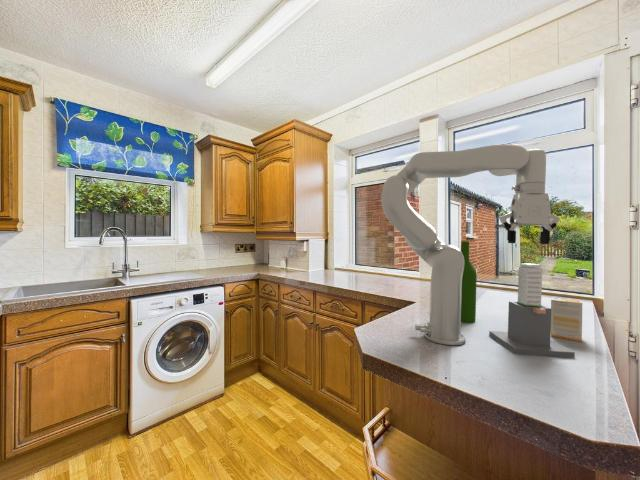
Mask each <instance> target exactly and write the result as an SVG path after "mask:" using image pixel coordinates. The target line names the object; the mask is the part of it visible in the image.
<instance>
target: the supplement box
mask: <svg viewBox="0 0 640 480" xmlns="http://www.w3.org/2000/svg"><path fill="white" fill-rule="evenodd" d="M550 308H551V337H554V338H561V339H566V340H570V341H575V342H576V341H577V342H582V339H583V302H582V300H576V299H568V298H559V297H551V299H550Z"/></svg>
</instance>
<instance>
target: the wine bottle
mask: <svg viewBox="0 0 640 480" xmlns="http://www.w3.org/2000/svg"><path fill="white" fill-rule="evenodd" d="M460 244H461V245H460V251H461V252H462V254H463V256H464V270H463V276H462V289H461V323H464V324H473V323H476V316H477V315H476V314H477V282H478V281H477V279H478V278H477V270H476V269H475V267H474V265H473V264H472V262H471V260H470V241H468V240H467V241H465V240H461V243H460Z"/></svg>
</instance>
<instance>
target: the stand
mask: <svg viewBox="0 0 640 480" xmlns="http://www.w3.org/2000/svg"><path fill="white" fill-rule="evenodd" d="M517 302H518V301H511V300H510V301H508V312H507V313H508V314H507V315H508V317H507V320H508V321H507V331H499V330H489V331H488V332H489V333H488V334H489V336H490V337H491V338H492V339H494V340H495V341H496V342H498V343H500V344H501V345H502V346H504V347H505V348H506V349H508V350H509V351H510V352H512V353H513V354H514V355H524V356H525V355H527V356H542V357H558V358H559V357H561V358H575V357H576V356H575V355H576V354H575V353H576V352H575V351H573V350H572V349H569V348H568V347H565V346H563V345H562V344H560V343H558V342H555V341H554V340H552V339H551V338H552V336H551V307H548V306H546V305H542V304H541V306H542V307H524V306H522V305H519V304H517Z"/></svg>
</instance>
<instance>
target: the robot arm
mask: <svg viewBox="0 0 640 480" xmlns="http://www.w3.org/2000/svg"><path fill="white" fill-rule="evenodd" d="M486 171H488V172H489V173H490V174H491V175H493V176H495V177H506V176H514V175H516V177H515V178H516V179H515V181H516V182H515V185H513V186H511V191H514V193H515V194H513V196H512V199H511V204H510V210H509V212H508V213H504V214H503V215H500V216H499V217H498V220H499V221H500V224H501V226H502V227H503V228H504V229H505V231H507V235H506V236H507V237H506V239H507V243H508V244H516V242H517V241H516V240H517V232H516V230H515V229H516V228H517V227H518V226H538V227H539V228H540V229H541V230H542V231H540V236H539V237H540V238H539V239H540V240H539V244H541V245H549V244H550V240H551V232H553V229H555V228H556V227H557V225H558V223H559V222H560V220H561V218H560V217H559V216H557V215H555V214H554V213H553V214H552V213H551V212H552V211H551V201H550V197H549V194H548V193H546V179H547V178H546V174H547V152H546V151H545V150H543V149H539V148H538V149H537V148H534V149H527V148H526V147H525V146H523V145H520V144H515V143H513V144H511V143H510V144H495V145H493V144H492V145H485V146H480V147H475V148H473V147H472V148H467V149H463V150H447V151H446V150H445V151H427V152H426V151H424V152H422V151H421V152H417V153H416V154H414V155H413V156H411V158H410V159H409V161H408V162H407V163H406V165H405V166H404V167H403V168H402V169H401V170H400V171H399V172H398V173H397V174H395V175H392V176H390V177H388V178H387V179H386V180H385V182H384V183H383V187H382V189H381V196H380V201H381V208H382V211H383V213H384V216H385V217H386V219H387V220H388V221H389V222H390V223H391V224H392V226H393V227H394V228H395V229H396V230H397V231H398V232H399V233H400V234H401V235H402V236H403V237H404V239H405V243H406V244H407V245H408V246H409V248H411V250H413V251H414V252H415V254H417V255H418V256H419V257H420V259H422V260H423V261H424V262H425V263H426V265H427V264H428V265H429V266H430V267H431V268H432V269H431V274H430V275H431V276H430V287H429V288H430V291H429V292H430V294H429V295H430V297H429V300H430V303H429V321H426V323H425V324H423V325H422V324H415V325H414V330H415V331H420V333H424V337H425V338H426V339H428V341H430V342H434V343H436V344H441V345H445V346H448V345H449V346H460V345H464V344H465V343H466V341H467V340H466V336H464V335H463V334H461V323H462V322H461V289H462V276H463V270H464V256H463V254H462V252H461V249H460V248H458V247H457V246H455V245H453V244H446V243H445V242H443V241H442V240H441V239H440V238H439V237H438V234H437V231H436V229H435V228H434V227H433V226H432V225H431V224H430V223H429V222H427V221H426V220H425V219H424V218H423V217H422V216H421V215H420V214H419V213H418V212H416V210H415V209H414V208H413V207H412V206H411V205H410V202H409V201H408V195H410V193H412V192H413V191H414V190H415V189H416V188H418V186H419V185H421V184H422V183H423V181H425V180H426V179H436V178H437V179H438V178H439V179H440V178H441V179H442V178H461V177H466V176H469V175H471V174H472V175H473V174H476V173H479V172H486ZM507 219H509V222H508V221H507Z"/></svg>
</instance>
